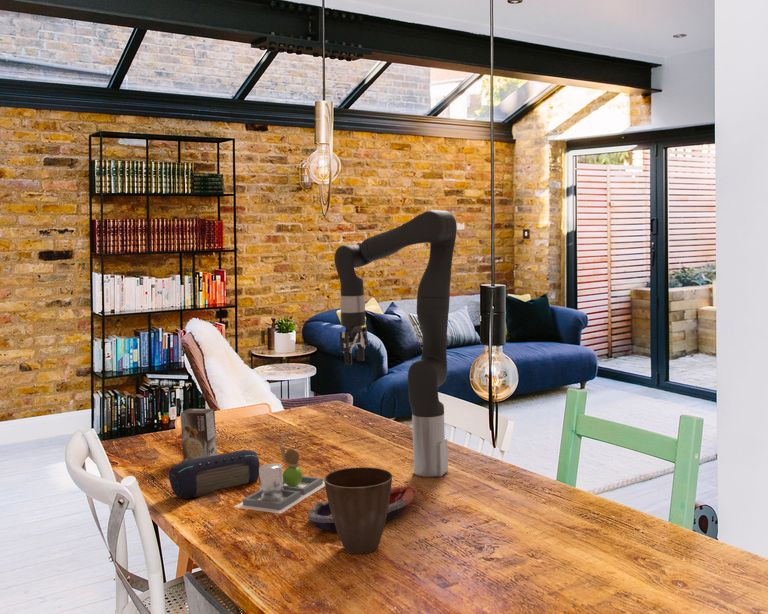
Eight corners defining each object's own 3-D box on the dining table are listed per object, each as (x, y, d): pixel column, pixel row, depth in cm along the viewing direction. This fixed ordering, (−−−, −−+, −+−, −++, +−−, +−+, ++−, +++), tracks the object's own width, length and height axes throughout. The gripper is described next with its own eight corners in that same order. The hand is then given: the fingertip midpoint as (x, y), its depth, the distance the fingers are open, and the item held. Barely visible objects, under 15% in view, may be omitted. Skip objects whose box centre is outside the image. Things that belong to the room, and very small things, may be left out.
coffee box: (218, 458, 245) (215, 408, 243) (209, 464, 238) (206, 413, 237) (192, 457, 247) (189, 408, 245) (182, 463, 241) (179, 412, 239)
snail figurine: (288, 481, 214) (286, 438, 212) (307, 484, 210) (305, 441, 209) (276, 487, 209) (274, 443, 208) (295, 490, 206) (293, 446, 205)
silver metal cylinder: (288, 498, 199) (286, 464, 198) (275, 506, 194) (274, 471, 193) (268, 496, 202) (267, 462, 201) (255, 503, 196) (254, 469, 195)
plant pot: (312, 548, 170) (310, 478, 168) (362, 529, 180) (360, 462, 179) (358, 567, 159) (356, 492, 158) (408, 546, 170) (406, 475, 168)
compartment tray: (331, 487, 212) (330, 476, 212) (281, 519, 189) (280, 507, 188) (287, 482, 218) (287, 471, 218) (233, 512, 194) (233, 501, 194)
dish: (294, 524, 186) (293, 503, 185) (398, 496, 203) (397, 478, 203) (327, 543, 173) (326, 522, 173) (434, 512, 190) (434, 493, 190)
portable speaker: (179, 506, 201) (177, 468, 200) (166, 496, 209) (164, 460, 209) (266, 486, 215) (265, 451, 214) (252, 478, 223) (250, 444, 222)
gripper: (353, 312, 227) (355, 367, 228) (373, 308, 240) (375, 359, 241) (330, 312, 230) (333, 366, 231) (352, 308, 243) (354, 359, 244)
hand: (354, 362), depth 236 cm, fingers open, 8 cm apart
